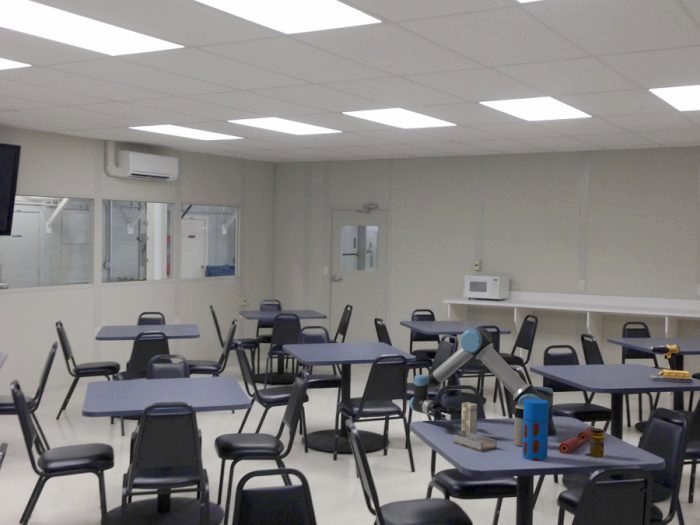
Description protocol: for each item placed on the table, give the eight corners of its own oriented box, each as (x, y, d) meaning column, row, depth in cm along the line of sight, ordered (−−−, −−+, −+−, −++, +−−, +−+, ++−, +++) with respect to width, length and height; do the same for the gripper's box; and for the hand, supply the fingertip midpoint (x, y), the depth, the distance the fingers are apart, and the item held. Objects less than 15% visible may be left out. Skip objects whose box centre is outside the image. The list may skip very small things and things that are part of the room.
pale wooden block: (461, 435, 378) (461, 403, 378) (467, 434, 381) (468, 402, 381) (469, 438, 373) (470, 405, 373) (476, 437, 376) (477, 404, 376)
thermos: (547, 461, 334) (549, 404, 334) (522, 459, 336) (524, 402, 336) (546, 455, 345) (548, 399, 344) (522, 453, 347) (523, 398, 346)
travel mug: (510, 444, 363) (511, 406, 362) (519, 441, 368) (520, 404, 368) (525, 447, 357) (526, 409, 357) (534, 445, 363) (535, 406, 363)
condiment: (607, 457, 343) (608, 430, 343) (590, 458, 341) (591, 431, 341) (598, 453, 350) (599, 427, 350) (581, 454, 348) (582, 427, 348)
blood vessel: (569, 455, 348) (569, 444, 347) (558, 453, 350) (558, 442, 350) (596, 437, 382) (597, 427, 382) (586, 436, 385) (587, 426, 385)
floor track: (453, 443, 363) (453, 434, 363) (469, 440, 369) (469, 432, 369) (480, 451, 348) (480, 443, 348) (496, 449, 354) (496, 440, 354)
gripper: (450, 413, 406) (479, 421, 388) (413, 418, 392) (441, 426, 374) (451, 399, 406) (479, 406, 388) (414, 403, 392) (441, 411, 374)
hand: (460, 416), depth 381 cm, fingers open, 13 cm apart
